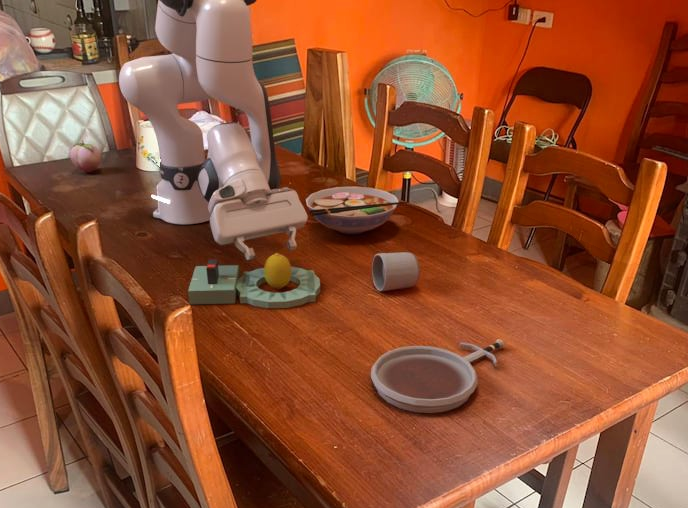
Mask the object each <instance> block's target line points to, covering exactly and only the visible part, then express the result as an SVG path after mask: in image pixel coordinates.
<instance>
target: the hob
mask: <svg viewBox="0 0 688 508" xmlns="http://www.w3.org/2000/svg"><path fill="white" fill-rule="evenodd" d="M242 274H243V275H242V276H240V277H239V279H238V280H237V286H236V291H237V295H236V296H238V298H239V304H248V305H251V306H253V307H256V308H257V307H258V308H264V309H289V308H295V307H298V306H303V305H305V304H307V303H315V302H317V301H316V298H317V297H318V295H319V294H320V293H321V279H320V277H319V276H318V275H316V274H315V270H314V269H308V270H307V269H305V268H302V267H296V266H291V279H290V281H289V282H292V283H295V284H297V285H298V286H297V287H296V288H293V289H291V290H287V291H284V292H283V291H282V292H273V291H272V292H271V291H266V290H263V289H262V288H261V289H260V288H259V287H260V286H261V285H263V284H265V283H267V281H266V279H265V275H264V267H261V268H256V269H253V270H251V271H243V273H242Z"/></svg>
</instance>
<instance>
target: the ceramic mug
mask: <svg viewBox="0 0 688 508" xmlns="http://www.w3.org/2000/svg"><path fill="white" fill-rule="evenodd" d="M371 274H372V275H371V276H372V281H373V285H374V286H375V288H376V290H378V291H379V292H387V291H393V290H400V289H409V288H412V287H414V286H416V285H417V284H418V282H419V280H420V277H421V265H420V262H419V259H418V257H417V256H416V255H415V254H414V253H413V252H405V251H404V252H403V251H402V252H401V251H400V252H380V253H379V252H378V253H376V254H375V255H374V257H373V259H372V262H371Z"/></svg>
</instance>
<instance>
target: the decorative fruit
mask: <svg viewBox="0 0 688 508" xmlns="http://www.w3.org/2000/svg"><path fill="white" fill-rule="evenodd" d="M69 158H70V161H71V162H72V163H73V165H74V166H75V167H76V168H78V169H79V170H80V171H83V172H84V173H87V174H91V172H93V171H96V170H97V168H98V167H99V166H100V164H101V159H102V154H101V151H100V149H99V148H98V147H97V146H95V145H94V144H92V143H84V139H83V140H81V142H77V143H74V144H73V145H72V148H71V150H70V152H69Z"/></svg>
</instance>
